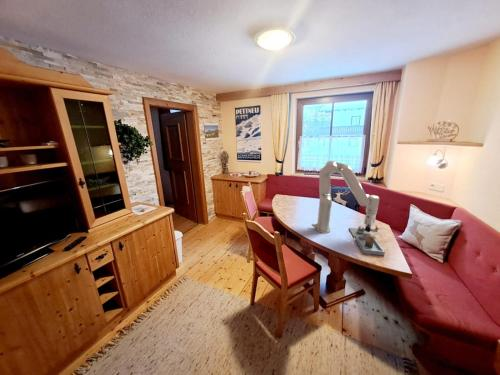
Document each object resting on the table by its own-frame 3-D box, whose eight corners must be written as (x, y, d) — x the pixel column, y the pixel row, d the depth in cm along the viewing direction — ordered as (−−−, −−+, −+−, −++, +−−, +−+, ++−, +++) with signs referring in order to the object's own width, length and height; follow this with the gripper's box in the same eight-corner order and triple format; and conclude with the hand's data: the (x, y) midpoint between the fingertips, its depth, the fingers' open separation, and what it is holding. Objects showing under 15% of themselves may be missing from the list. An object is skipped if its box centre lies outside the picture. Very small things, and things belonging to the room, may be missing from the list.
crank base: (353, 236, 156) (354, 233, 155) (348, 228, 169) (349, 225, 169) (372, 238, 153) (373, 235, 153) (366, 230, 167) (366, 227, 166)
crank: (358, 230, 159) (359, 225, 157) (357, 228, 163) (358, 222, 162) (378, 233, 154) (379, 227, 153) (376, 230, 159) (377, 225, 158)
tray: (363, 253, 135) (364, 249, 134) (355, 239, 153) (356, 235, 152) (384, 255, 132) (385, 251, 132) (373, 241, 150) (374, 237, 149)
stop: (366, 247, 140) (368, 237, 138) (363, 243, 145) (365, 234, 143) (373, 247, 140) (375, 238, 138) (370, 244, 145) (372, 234, 142)
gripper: (373, 214, 144) (368, 236, 149) (380, 209, 153) (375, 230, 158) (362, 211, 150) (358, 232, 155) (369, 207, 159) (366, 226, 164)
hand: (367, 231), depth 157 cm, fingers closed
